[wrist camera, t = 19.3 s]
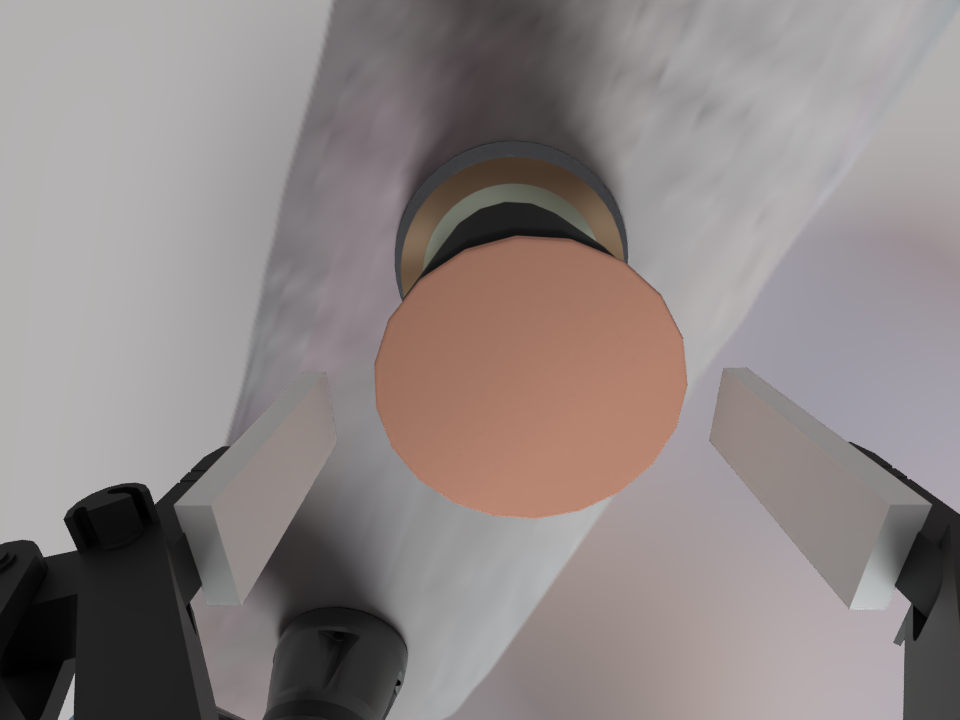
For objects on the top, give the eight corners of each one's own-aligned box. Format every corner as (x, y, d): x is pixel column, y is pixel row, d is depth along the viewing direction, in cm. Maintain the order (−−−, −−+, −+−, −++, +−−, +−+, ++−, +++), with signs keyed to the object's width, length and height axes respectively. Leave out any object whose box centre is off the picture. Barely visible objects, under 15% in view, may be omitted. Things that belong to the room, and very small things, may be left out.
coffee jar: (446, 355, 34) (400, 528, 18) (425, 209, 30) (341, 254, 14) (588, 343, 34) (679, 512, 17) (586, 191, 29) (704, 217, 13)
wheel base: (484, 408, 40) (484, 415, 39) (348, 242, 35) (344, 244, 34) (667, 293, 36) (673, 297, 35) (543, 82, 30) (545, 79, 29)
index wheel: (606, 361, 37) (638, 415, 29) (418, 366, 38) (396, 420, 30) (621, 153, 31) (667, 146, 23) (397, 163, 32) (363, 160, 24)
